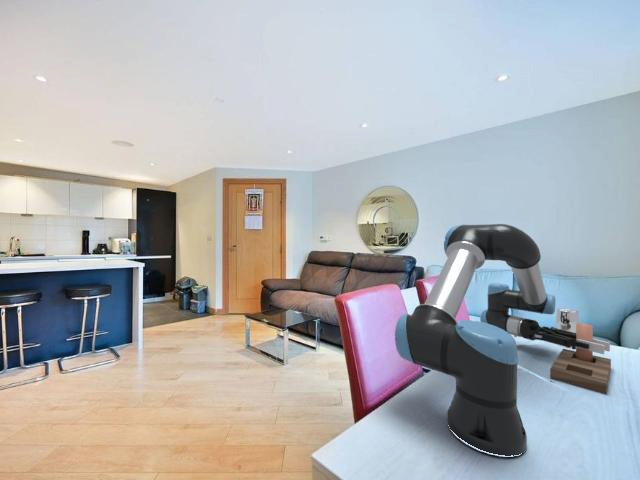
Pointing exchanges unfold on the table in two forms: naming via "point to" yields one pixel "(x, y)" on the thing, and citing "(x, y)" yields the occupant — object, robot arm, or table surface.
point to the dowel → (585, 334)
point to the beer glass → (567, 320)
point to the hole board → (582, 371)
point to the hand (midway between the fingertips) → (606, 348)
